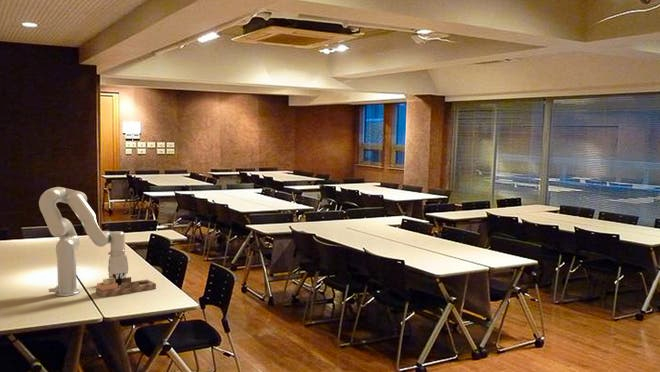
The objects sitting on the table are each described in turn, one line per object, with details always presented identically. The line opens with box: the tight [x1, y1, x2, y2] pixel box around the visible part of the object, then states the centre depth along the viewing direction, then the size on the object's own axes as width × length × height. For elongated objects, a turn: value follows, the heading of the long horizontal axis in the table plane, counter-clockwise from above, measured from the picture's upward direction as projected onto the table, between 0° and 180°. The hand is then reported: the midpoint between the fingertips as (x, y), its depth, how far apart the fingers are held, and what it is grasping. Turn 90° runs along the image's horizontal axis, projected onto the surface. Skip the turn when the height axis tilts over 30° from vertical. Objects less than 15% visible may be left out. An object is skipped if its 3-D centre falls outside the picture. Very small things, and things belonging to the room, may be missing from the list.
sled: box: [96, 281, 118, 291], centre depth 319 cm, size 9×9×2 cm
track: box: [95, 276, 157, 298], centre depth 325 cm, size 30×13×6 cm, turn 130°
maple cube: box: [102, 277, 115, 286], centre depth 319 cm, size 5×5×5 cm
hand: (118, 285), depth 323 cm, fingers closed
